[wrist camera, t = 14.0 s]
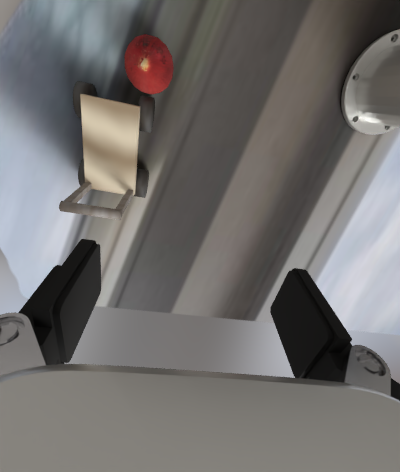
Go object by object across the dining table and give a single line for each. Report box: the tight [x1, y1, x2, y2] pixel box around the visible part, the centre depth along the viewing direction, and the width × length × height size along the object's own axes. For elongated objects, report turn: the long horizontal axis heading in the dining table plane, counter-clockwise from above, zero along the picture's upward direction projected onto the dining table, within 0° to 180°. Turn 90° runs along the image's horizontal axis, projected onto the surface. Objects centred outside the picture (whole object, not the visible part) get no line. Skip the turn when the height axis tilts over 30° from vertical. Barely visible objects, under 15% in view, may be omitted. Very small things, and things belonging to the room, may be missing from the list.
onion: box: [125, 34, 173, 94], centre depth 28 cm, size 6×6×8 cm
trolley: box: [59, 81, 155, 220], centre depth 31 cm, size 14×10×14 cm, turn 169°
